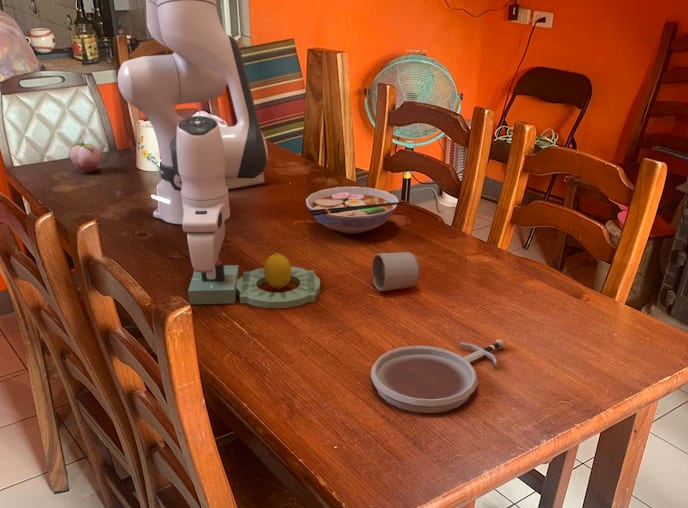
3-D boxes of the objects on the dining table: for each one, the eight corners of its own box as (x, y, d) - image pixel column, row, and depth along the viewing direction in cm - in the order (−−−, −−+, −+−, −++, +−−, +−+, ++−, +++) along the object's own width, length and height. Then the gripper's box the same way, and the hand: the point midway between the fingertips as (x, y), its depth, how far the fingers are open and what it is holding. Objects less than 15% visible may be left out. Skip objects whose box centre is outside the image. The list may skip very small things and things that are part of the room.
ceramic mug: (421, 291, 138) (423, 256, 134) (384, 297, 136) (385, 261, 132) (399, 272, 147) (401, 238, 143) (364, 277, 145) (365, 243, 141)
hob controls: (197, 279, 144) (195, 265, 142) (239, 278, 144) (238, 264, 143) (189, 304, 134) (187, 290, 132) (235, 303, 134) (233, 289, 132)
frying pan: (544, 355, 112) (424, 413, 97) (541, 370, 114) (422, 430, 99) (466, 317, 124) (348, 364, 109) (465, 331, 125) (348, 380, 110)
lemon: (288, 296, 137) (286, 259, 133) (261, 294, 138) (259, 257, 133) (294, 285, 141) (293, 249, 137) (269, 282, 142) (267, 247, 138)
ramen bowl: (381, 209, 182) (382, 179, 177) (416, 239, 163) (418, 206, 159) (291, 219, 175) (290, 188, 171) (317, 252, 156) (316, 218, 152)
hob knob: (202, 281, 136) (200, 264, 134) (203, 277, 137) (201, 261, 135) (224, 281, 136) (222, 264, 134) (224, 277, 137) (223, 260, 136)
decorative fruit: (109, 170, 214) (104, 138, 209) (92, 177, 208) (86, 144, 202) (86, 167, 217) (80, 135, 212) (68, 174, 211) (61, 141, 206)
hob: (240, 273, 146) (239, 266, 146) (318, 271, 147) (318, 265, 146) (233, 309, 132) (233, 302, 131) (321, 307, 132) (321, 300, 132)
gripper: (198, 191, 138) (204, 254, 145) (180, 226, 120) (189, 296, 127) (229, 191, 138) (234, 254, 145) (215, 226, 120) (222, 296, 127)
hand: (213, 274), depth 136 cm, fingers closed on hob knob, 2 cm apart
